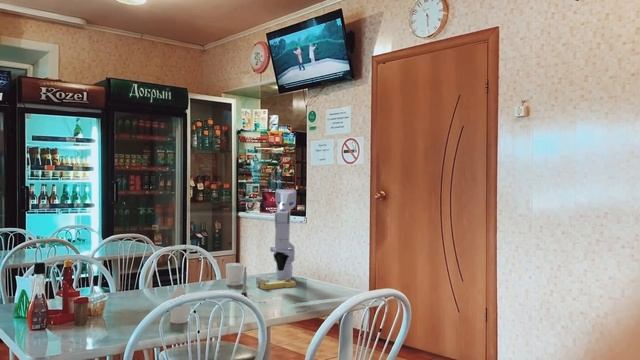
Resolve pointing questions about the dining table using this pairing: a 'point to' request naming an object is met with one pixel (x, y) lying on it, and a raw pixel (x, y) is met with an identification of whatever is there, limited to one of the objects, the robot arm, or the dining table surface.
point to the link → (277, 284)
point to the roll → (179, 308)
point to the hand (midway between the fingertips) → (280, 270)
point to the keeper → (261, 281)
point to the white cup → (234, 273)
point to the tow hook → (244, 284)
